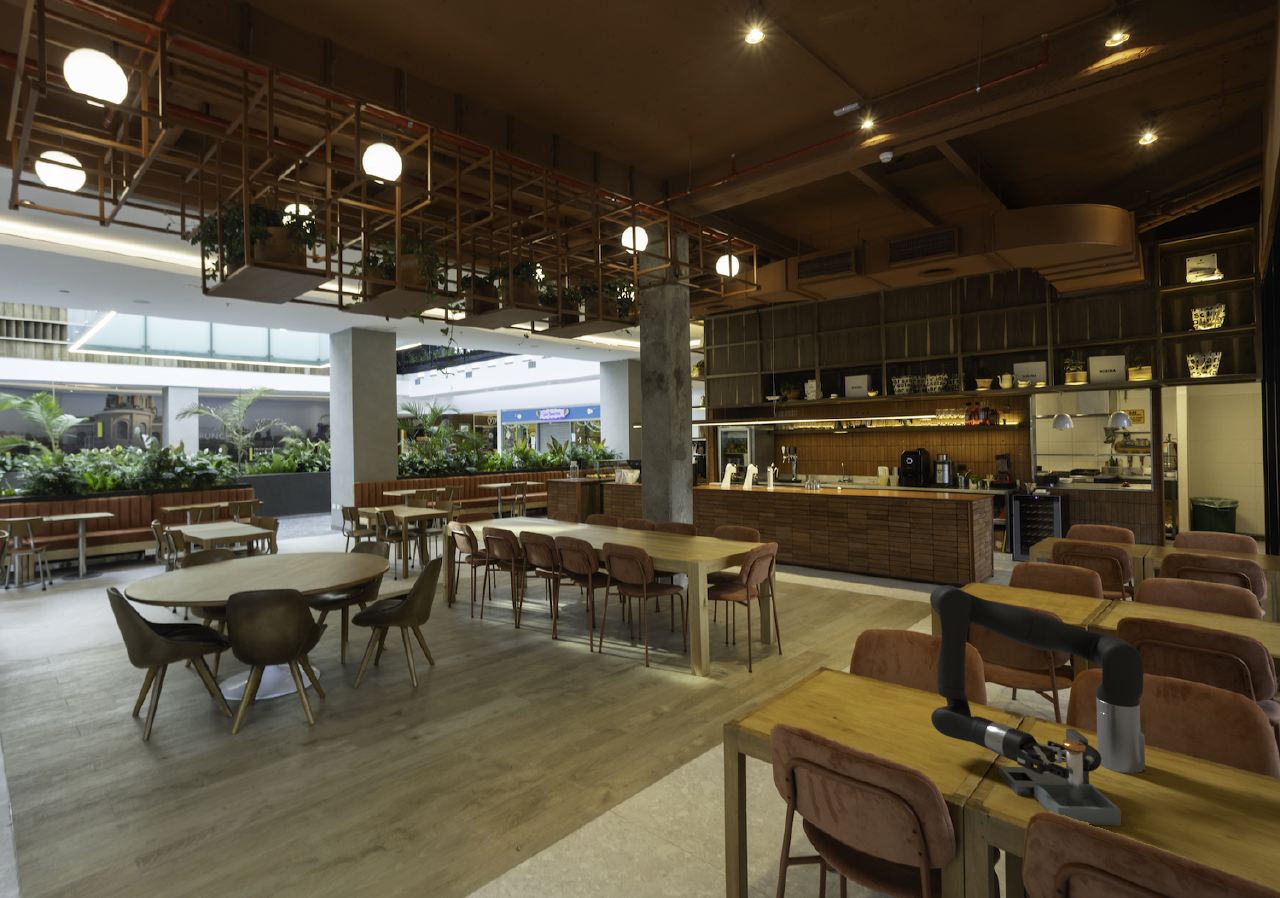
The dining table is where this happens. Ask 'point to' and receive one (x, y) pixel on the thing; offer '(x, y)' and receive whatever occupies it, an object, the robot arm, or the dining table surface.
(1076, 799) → the lock pin
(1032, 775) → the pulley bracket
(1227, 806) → the dining table surface
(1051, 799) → the tray
